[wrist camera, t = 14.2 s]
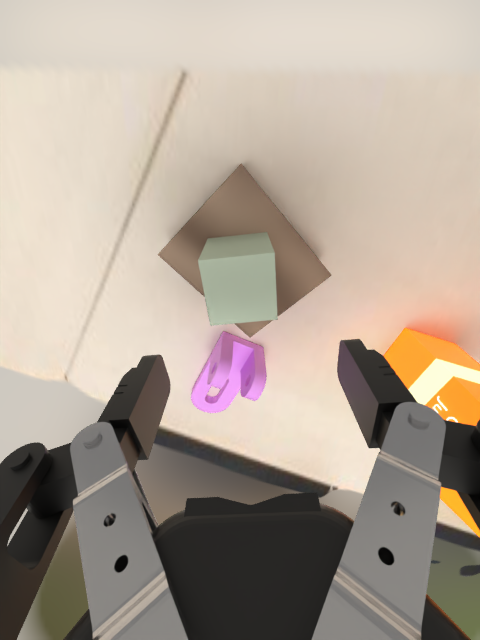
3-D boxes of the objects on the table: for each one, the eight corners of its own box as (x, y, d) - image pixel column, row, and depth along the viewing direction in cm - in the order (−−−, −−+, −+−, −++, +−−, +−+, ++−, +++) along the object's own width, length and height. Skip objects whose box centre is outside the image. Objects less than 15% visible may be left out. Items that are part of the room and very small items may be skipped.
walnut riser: (241, 163, 24) (241, 163, 20) (317, 258, 28) (331, 275, 24) (170, 240, 28) (157, 254, 23) (248, 314, 32) (250, 337, 28)
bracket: (223, 330, 33) (219, 367, 27) (263, 346, 34) (267, 385, 28) (187, 397, 39) (177, 440, 33) (222, 409, 40) (218, 452, 34)
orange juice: (456, 343, 34) (684, 533, 16) (412, 391, 38) (556, 582, 21) (403, 326, 32) (589, 513, 15) (364, 378, 37) (474, 569, 19)
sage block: (266, 232, 22) (274, 252, 17) (270, 287, 25) (277, 319, 20) (208, 238, 23) (197, 260, 17) (216, 292, 25) (210, 325, 20)
